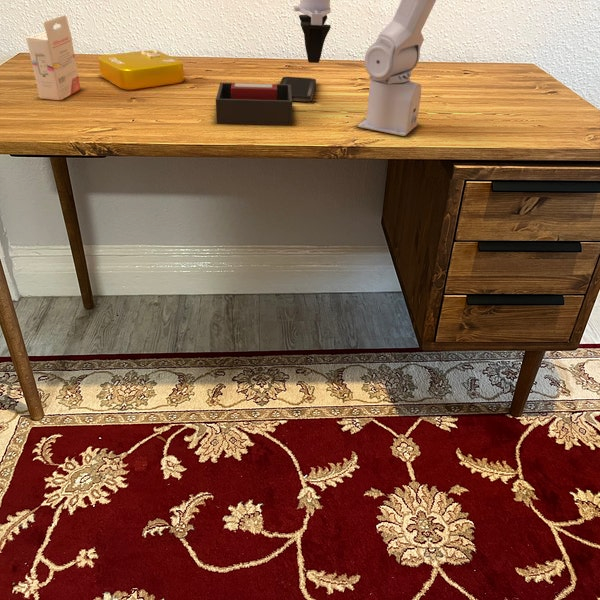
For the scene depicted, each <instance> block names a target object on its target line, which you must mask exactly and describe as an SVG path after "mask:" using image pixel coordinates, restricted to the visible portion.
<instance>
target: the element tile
mask: <svg viewBox="0 0 600 600" xmlns="http://www.w3.org/2000/svg"><path fill="white" fill-rule="evenodd" d="M98 65H99V66H98V67H99V72H100V73H99V74H100V77H101V78H102V79H105V80H106V81H108V82H110V83H111V84H113V85H115V86H117V87H118V88H120V89H121V90H124V91H125V90H126V91H135V90H141V89H148V88H155V87H161V86H169V85H176V84H181V83H183V82H184V81H185V77H184V76H185V74H184V63H183V61H182V60H180V59H177V58H175V57H173V56H170V55H168V54H166V53H163V52H162V51H159V50H157V49H145V50H140V51H130V52H121V53H111V54H103V55H99V56H98Z"/></svg>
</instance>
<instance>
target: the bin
mask: <svg viewBox="0 0 600 600" xmlns="http://www.w3.org/2000/svg"><path fill="white" fill-rule="evenodd" d="M232 83H234V84H235V83H236V82H220V83H219V85H218V86H219V87H218V90H217V93H216V98H215V112H216V113H215V115H216V124H221V125H222V124H223V125H225V124H226V125H227V124H228V125H263V126H264V125H266V126H267V125H268V126H292V124H293V123H292V122H293V101H292V93H291V85H289V84H280V83H271V84H272V85H277V100H250V99H231V85H232ZM244 83H245V84H255V83H253V82H252V83H248V82H244Z"/></svg>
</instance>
